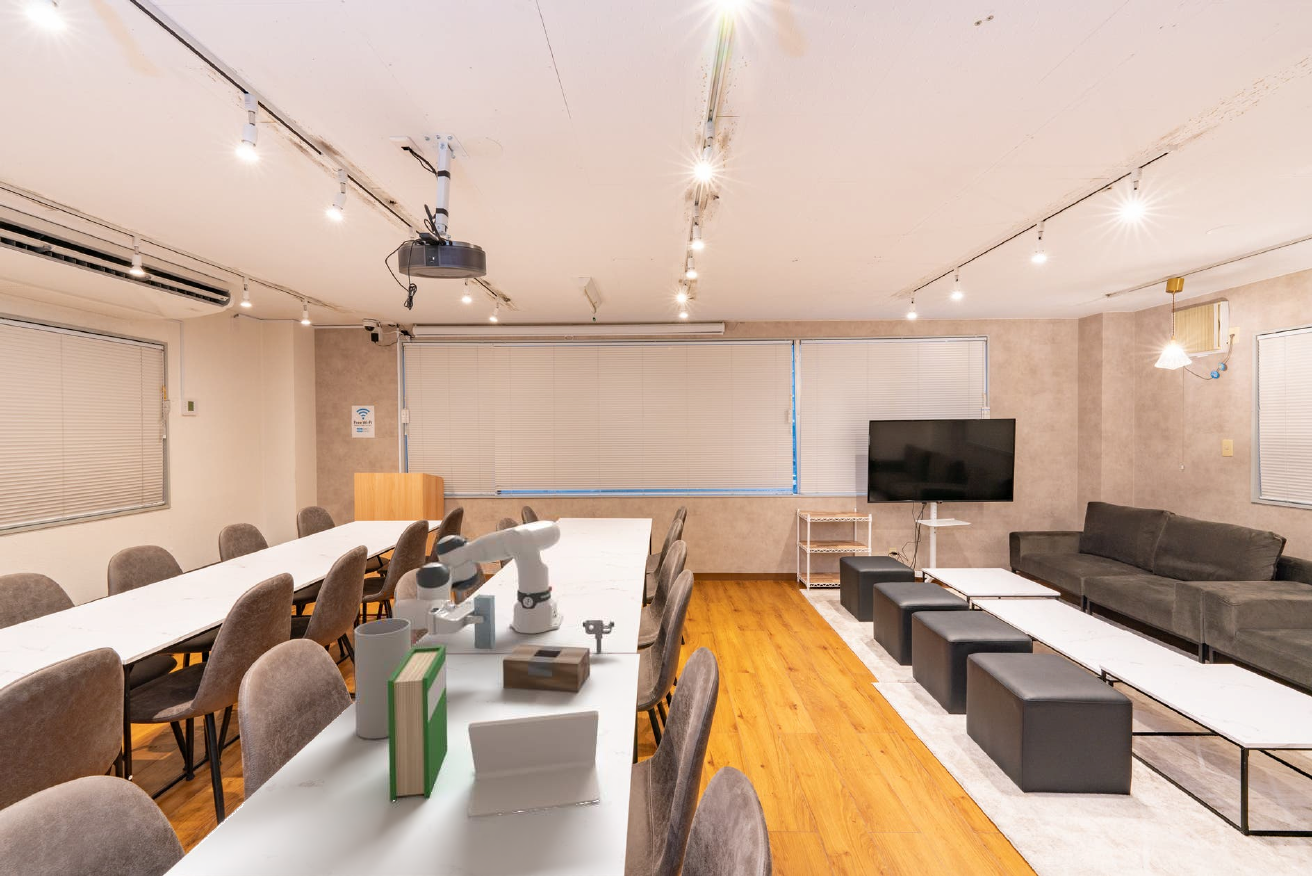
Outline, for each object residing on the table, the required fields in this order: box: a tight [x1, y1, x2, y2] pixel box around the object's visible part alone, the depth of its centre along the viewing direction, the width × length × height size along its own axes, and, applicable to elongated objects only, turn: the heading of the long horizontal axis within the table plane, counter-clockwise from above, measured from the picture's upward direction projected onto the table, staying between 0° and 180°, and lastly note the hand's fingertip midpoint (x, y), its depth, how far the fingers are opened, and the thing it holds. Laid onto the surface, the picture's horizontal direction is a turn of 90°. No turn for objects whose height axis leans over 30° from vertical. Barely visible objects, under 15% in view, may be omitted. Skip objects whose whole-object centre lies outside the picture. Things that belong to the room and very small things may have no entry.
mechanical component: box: [582, 619, 615, 654], centre depth 192 cm, size 3×10×10 cm, turn 89°
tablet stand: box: [467, 710, 601, 819], centre depth 120 cm, size 18×25×17 cm
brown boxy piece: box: [502, 644, 591, 693], centre depth 170 cm, size 12×22×8 cm, turn 81°
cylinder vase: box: [353, 618, 412, 740], centre depth 144 cm, size 12×12×25 cm
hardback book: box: [388, 645, 448, 802], centre depth 124 cm, size 18×7×24 cm, turn 9°
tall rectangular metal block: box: [473, 594, 496, 650], centre depth 172 cm, size 3×5×15 cm, turn 81°
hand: (487, 616), depth 172 cm, fingers closed on tall rectangular metal block, 3 cm apart
